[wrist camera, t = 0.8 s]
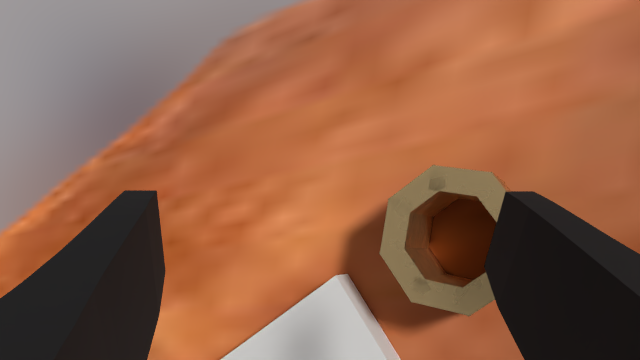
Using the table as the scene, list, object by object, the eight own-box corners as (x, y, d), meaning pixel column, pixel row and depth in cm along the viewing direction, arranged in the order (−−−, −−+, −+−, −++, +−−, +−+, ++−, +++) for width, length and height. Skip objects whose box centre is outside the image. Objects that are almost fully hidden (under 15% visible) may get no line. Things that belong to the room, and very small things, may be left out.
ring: (562, 255, 23) (560, 258, 20) (455, 324, 25) (434, 338, 21) (482, 153, 25) (466, 139, 21) (387, 224, 27) (357, 221, 23)
